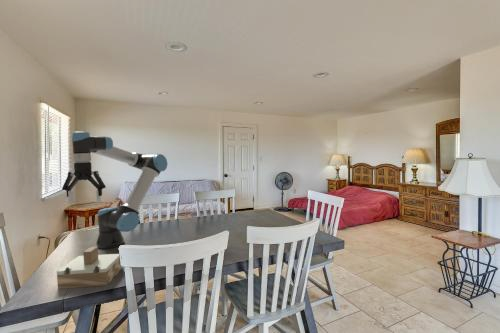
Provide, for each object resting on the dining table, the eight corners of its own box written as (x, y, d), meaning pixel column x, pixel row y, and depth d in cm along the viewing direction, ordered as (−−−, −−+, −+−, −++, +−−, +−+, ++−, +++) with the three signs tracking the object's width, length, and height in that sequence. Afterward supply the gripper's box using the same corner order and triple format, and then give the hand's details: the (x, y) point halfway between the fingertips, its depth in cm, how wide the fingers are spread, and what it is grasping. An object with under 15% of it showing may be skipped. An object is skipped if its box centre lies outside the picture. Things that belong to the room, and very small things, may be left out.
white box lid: (78, 258, 124) (77, 243, 124) (121, 256, 126) (120, 241, 126) (57, 274, 108) (55, 257, 108) (106, 272, 110) (105, 255, 110)
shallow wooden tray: (79, 270, 125) (78, 253, 124) (122, 268, 126) (121, 251, 126) (57, 288, 109) (56, 269, 108) (106, 285, 111) (105, 266, 110)
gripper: (51, 162, 126) (54, 205, 128) (104, 161, 128) (106, 203, 130) (61, 162, 134) (64, 202, 135) (111, 161, 136) (113, 200, 137)
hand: (85, 202), depth 132 cm, fingers open, 13 cm apart
